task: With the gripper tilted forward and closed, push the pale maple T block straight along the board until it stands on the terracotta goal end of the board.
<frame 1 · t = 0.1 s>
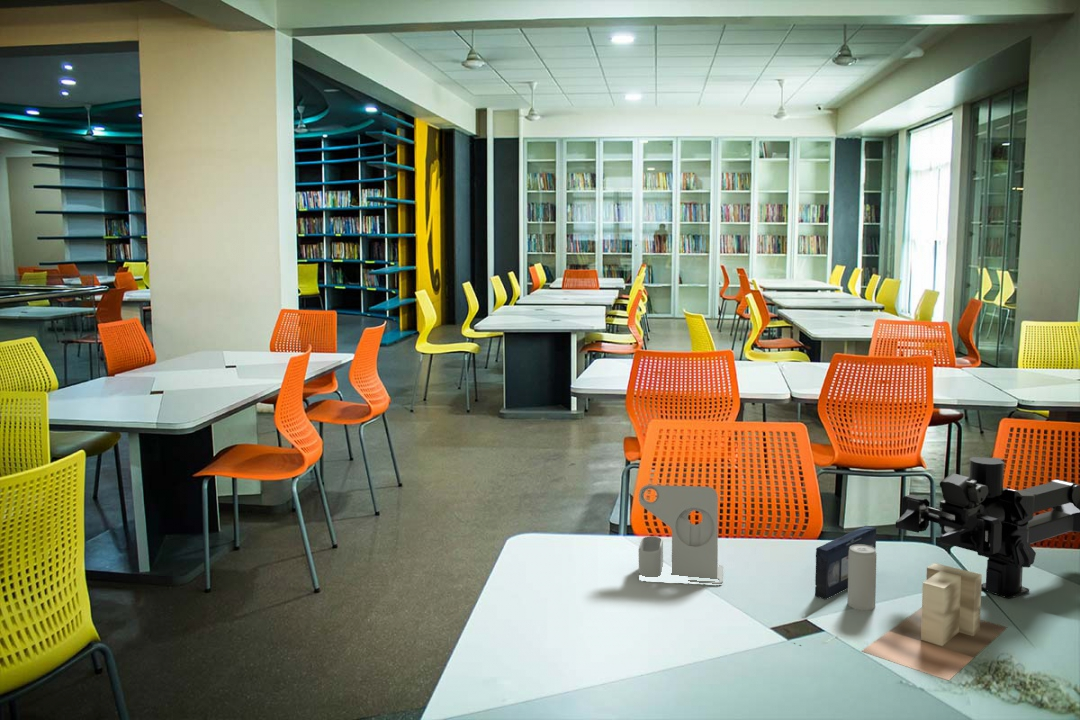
hand: (918, 532, 154), 17 cm above the table, tool horizontal, fingers open, 9 cm apart
T block: (943, 632, 149), point 1 cm above the table, touching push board
beverage can: (861, 611, 161), on the table
phone holder: (680, 575, 181), on the table
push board: (935, 645, 147), on the table
vhs cassette tape: (845, 586, 173), on the table
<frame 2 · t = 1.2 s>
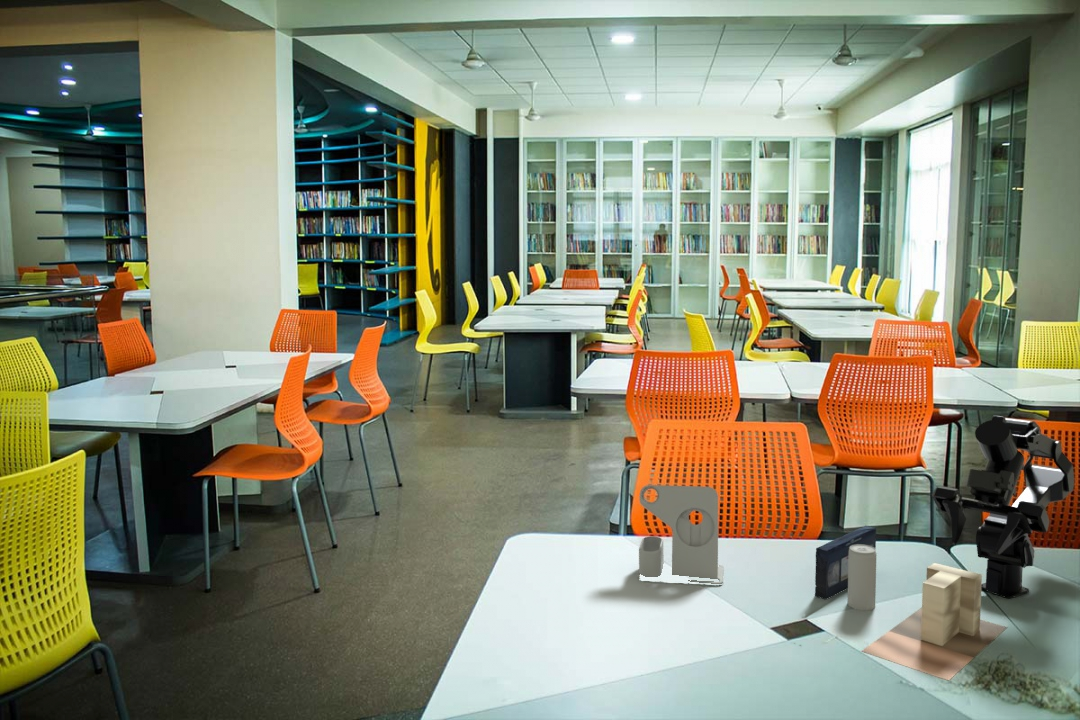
hand: (975, 548, 156), 13 cm above the table, tool tilted 45°, fingers open, 7 cm apart
nothing on the table moved.
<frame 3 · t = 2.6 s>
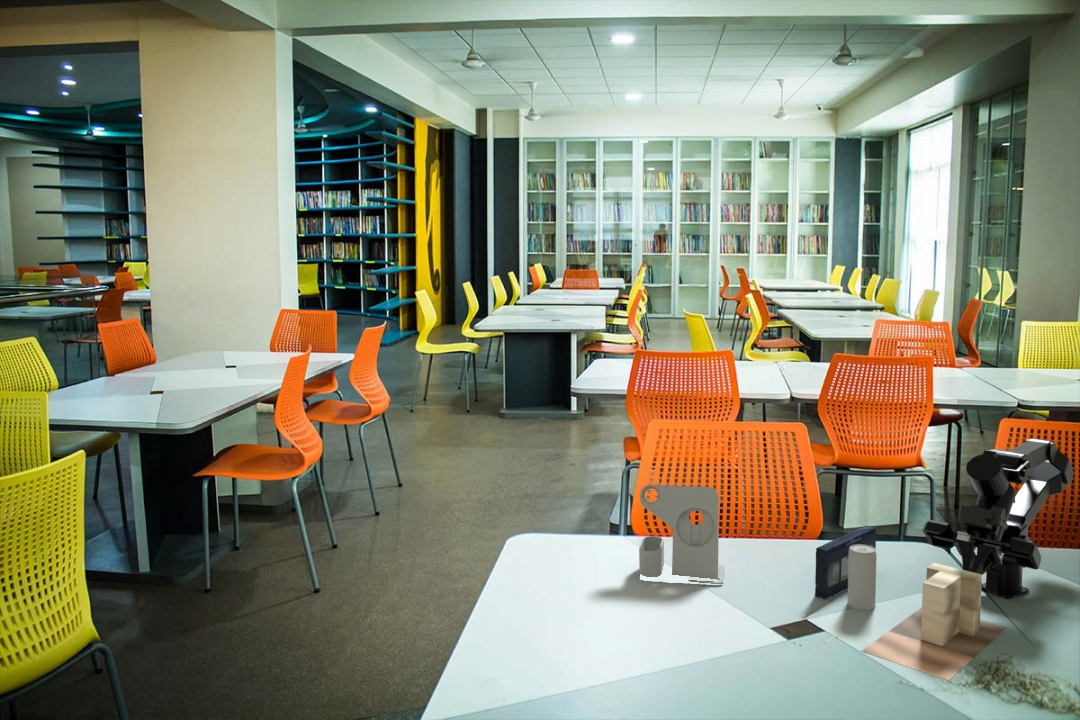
hand: (966, 585, 155), 7 cm above the table, tool tilted 45°, fingers closed
nothing on the table moved.
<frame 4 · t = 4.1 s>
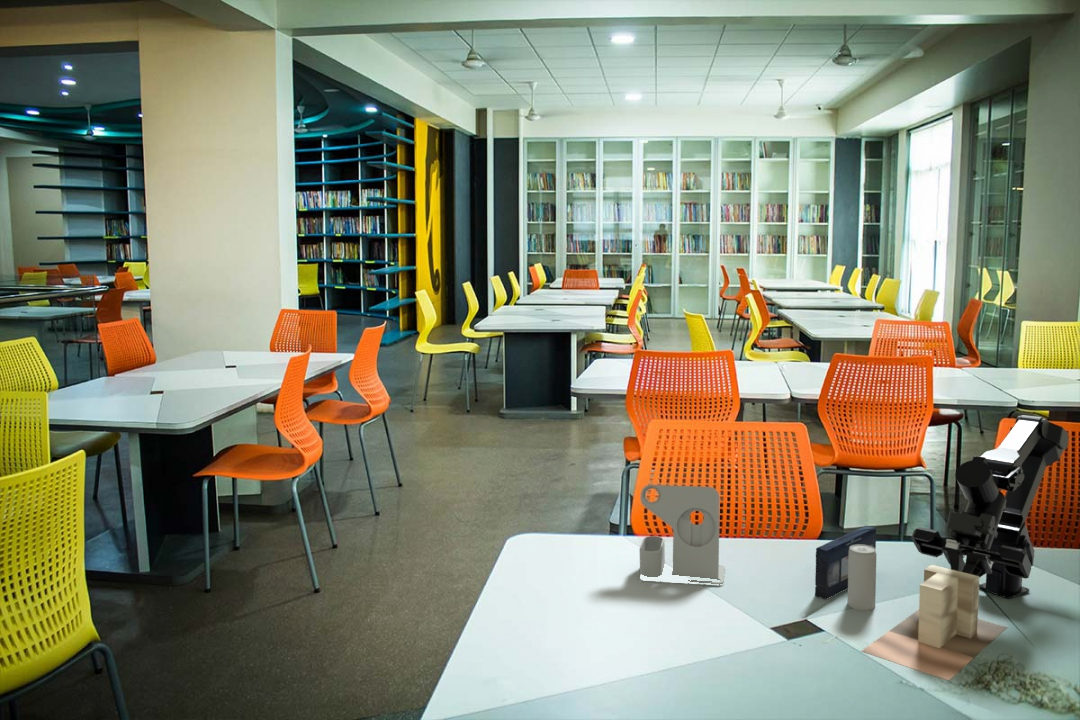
hand: (954, 593, 151), 7 cm above the table, tool tilted 45°, fingers closed
T block: (941, 634, 148), point 1 cm above the table, touching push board
everything else where it was.
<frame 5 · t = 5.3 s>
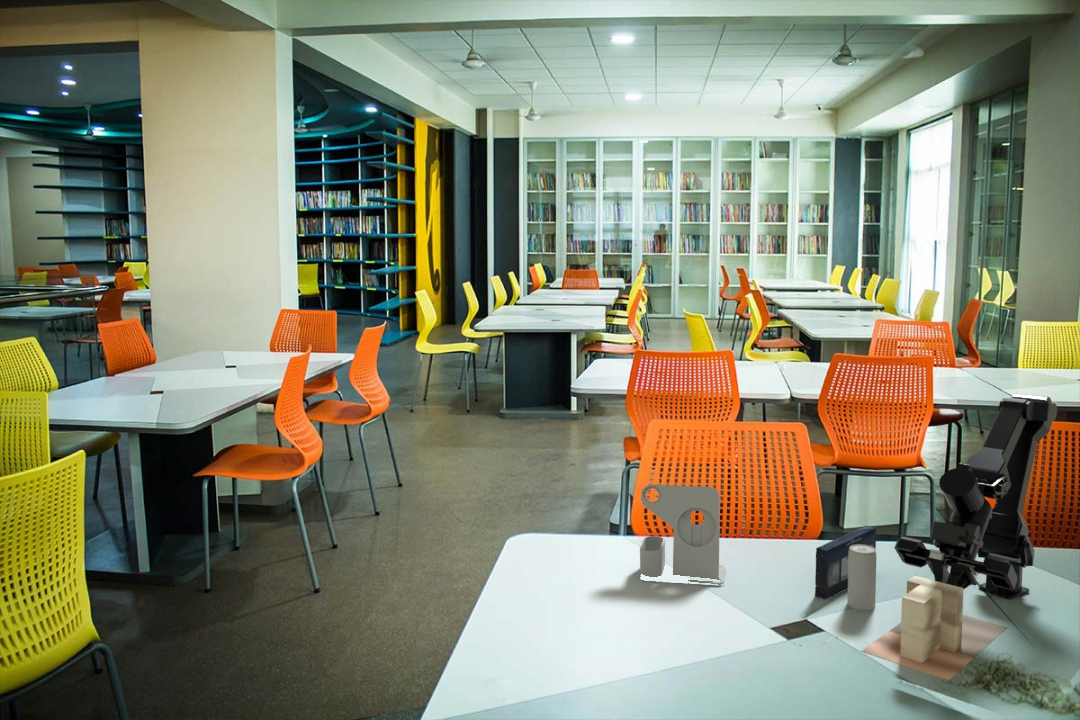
hand: (938, 606, 147), 7 cm above the table, tool tilted 45°, fingers closed
T block: (924, 648, 144), point 1 cm above the table, touching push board
everything else where it was.
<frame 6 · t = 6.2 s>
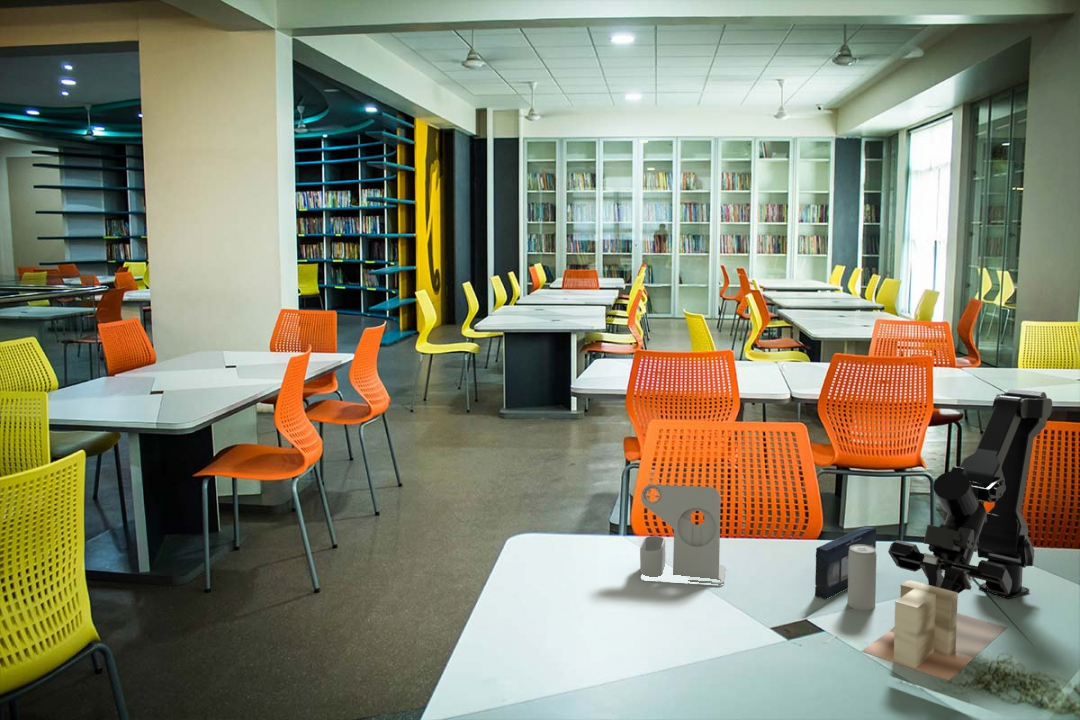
hand: (932, 610, 145), 7 cm above the table, tool tilted 45°, fingers closed, pressing on T block
T block: (917, 653, 142), point 1 cm above the table, touching gripper, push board
everything else where it was.
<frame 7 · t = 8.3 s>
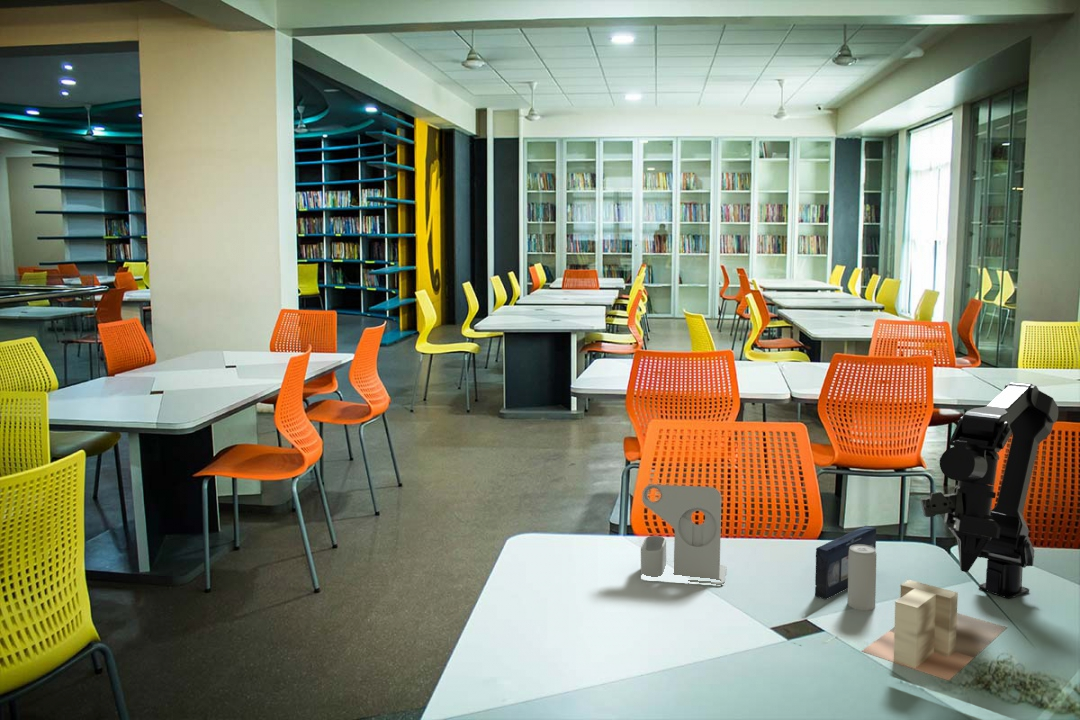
hand: (964, 571, 153), 10 cm above the table, tool tilted 15°, fingers closed
T block: (917, 653, 142), point 1 cm above the table, touching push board
everything else where it was.
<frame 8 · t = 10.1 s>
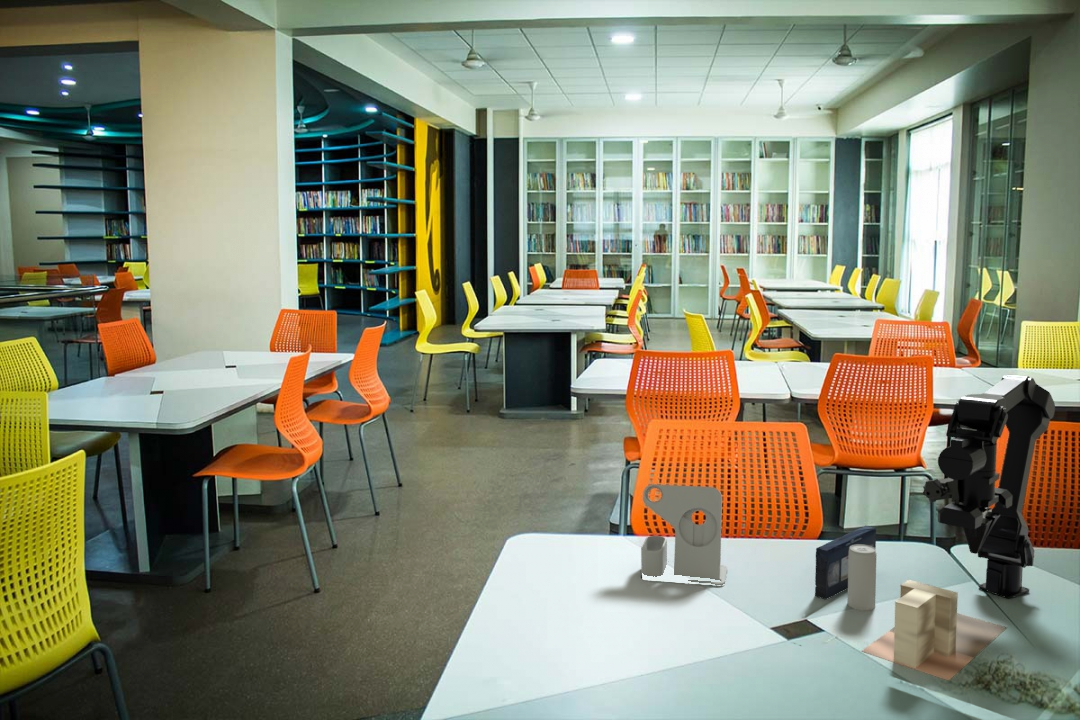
hand: (974, 552, 156), 12 cm above the table, tool pointing down, fingers closed
nothing on the table moved.
at the end: T block inside the target area (0.1 cm from its centre), point 1.2 cm above the table; T block tilted 0°; T block moved 10.3 cm from its start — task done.
